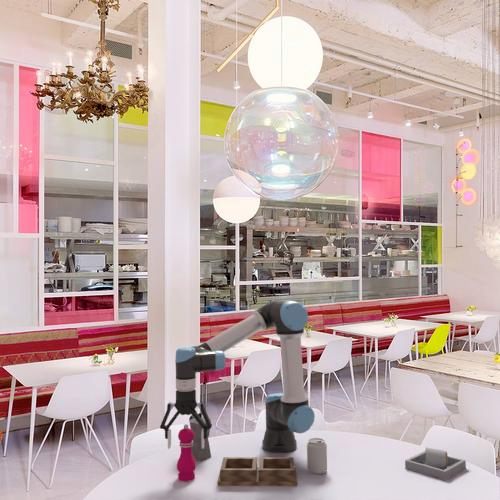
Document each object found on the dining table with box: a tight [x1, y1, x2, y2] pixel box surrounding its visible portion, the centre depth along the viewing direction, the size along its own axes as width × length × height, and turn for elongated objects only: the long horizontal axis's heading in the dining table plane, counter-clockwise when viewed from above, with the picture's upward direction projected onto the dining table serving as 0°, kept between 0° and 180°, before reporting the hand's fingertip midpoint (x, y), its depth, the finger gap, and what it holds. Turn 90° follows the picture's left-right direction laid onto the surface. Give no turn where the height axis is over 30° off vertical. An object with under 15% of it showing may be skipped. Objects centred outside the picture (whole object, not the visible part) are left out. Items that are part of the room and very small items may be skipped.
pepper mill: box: [176, 423, 197, 482], centre depth 197 cm, size 7×7×20 cm
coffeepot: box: [188, 412, 212, 461], centre depth 221 cm, size 15×9×18 cm, turn 35°
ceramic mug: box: [424, 447, 449, 470], centre depth 205 cm, size 11×8×8 cm
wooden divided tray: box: [217, 456, 299, 487], centre depth 196 cm, size 29×14×6 cm, turn 88°
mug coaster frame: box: [404, 450, 467, 481], centre depth 204 cm, size 16×16×3 cm
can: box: [306, 437, 328, 475], centre depth 202 cm, size 8×8×12 cm
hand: (186, 447), depth 197 cm, fingers open, 12 cm apart
